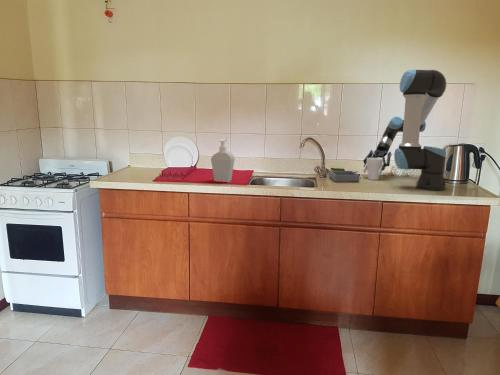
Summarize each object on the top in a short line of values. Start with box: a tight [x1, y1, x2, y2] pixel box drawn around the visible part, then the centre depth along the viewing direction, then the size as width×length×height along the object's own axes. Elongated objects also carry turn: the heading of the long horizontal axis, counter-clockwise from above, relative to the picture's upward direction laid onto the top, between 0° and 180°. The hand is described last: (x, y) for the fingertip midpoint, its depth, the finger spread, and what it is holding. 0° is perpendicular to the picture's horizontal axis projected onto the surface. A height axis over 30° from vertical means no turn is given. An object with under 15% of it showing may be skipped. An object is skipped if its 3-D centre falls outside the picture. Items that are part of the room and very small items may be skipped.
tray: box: [328, 170, 360, 183], centre depth 237 cm, size 15×15×4 cm
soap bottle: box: [210, 138, 235, 183], centre depth 228 cm, size 12×10×26 cm
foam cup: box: [366, 157, 383, 181], centre depth 240 cm, size 10×9×13 cm
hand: (371, 172), depth 238 cm, fingers closed on foam cup, 9 cm apart
